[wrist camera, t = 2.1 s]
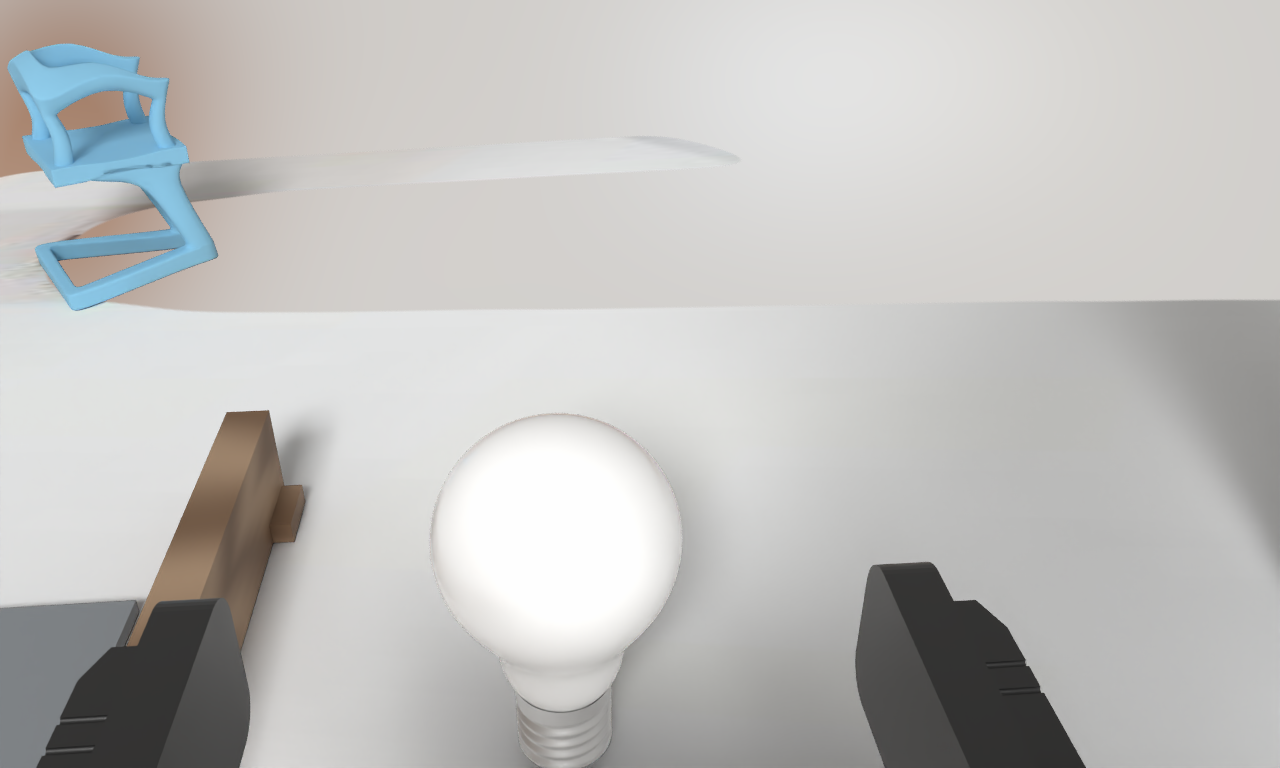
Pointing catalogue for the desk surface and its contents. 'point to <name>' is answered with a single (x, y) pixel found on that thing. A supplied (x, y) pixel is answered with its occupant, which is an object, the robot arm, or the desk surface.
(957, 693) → the robot arm
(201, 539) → the walnut fence
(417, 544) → the desk surface
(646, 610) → the lightbulb
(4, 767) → the mat
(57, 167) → the chair
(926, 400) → the desk surface
